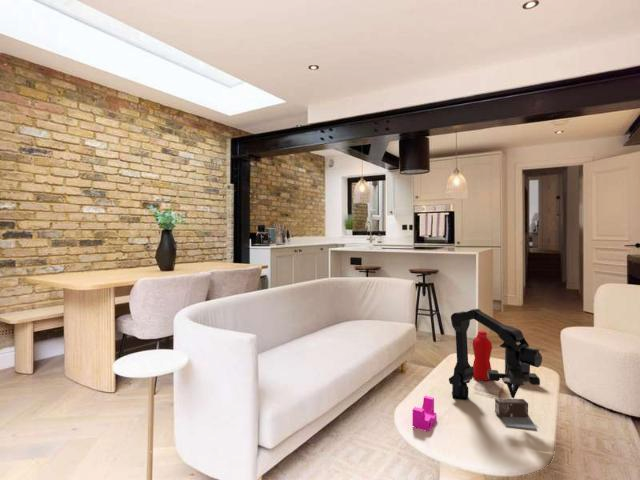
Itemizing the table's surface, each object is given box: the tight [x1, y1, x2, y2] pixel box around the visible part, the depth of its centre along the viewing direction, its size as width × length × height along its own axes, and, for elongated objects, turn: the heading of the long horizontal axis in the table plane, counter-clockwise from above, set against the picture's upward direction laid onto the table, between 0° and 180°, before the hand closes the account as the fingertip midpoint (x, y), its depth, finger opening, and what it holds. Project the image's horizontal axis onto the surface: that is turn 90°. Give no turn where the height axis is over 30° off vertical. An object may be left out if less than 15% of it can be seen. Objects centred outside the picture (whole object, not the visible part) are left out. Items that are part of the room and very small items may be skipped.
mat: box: [501, 414, 538, 431], centre depth 154 cm, size 11×15×1 cm
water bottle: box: [468, 330, 493, 382], centre depth 198 cm, size 9×11×25 cm
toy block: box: [411, 395, 437, 432], centre depth 152 cm, size 15×6×8 cm, turn 145°
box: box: [494, 398, 529, 418], centre depth 156 cm, size 6×4×12 cm
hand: (512, 397), depth 154 cm, fingers closed
